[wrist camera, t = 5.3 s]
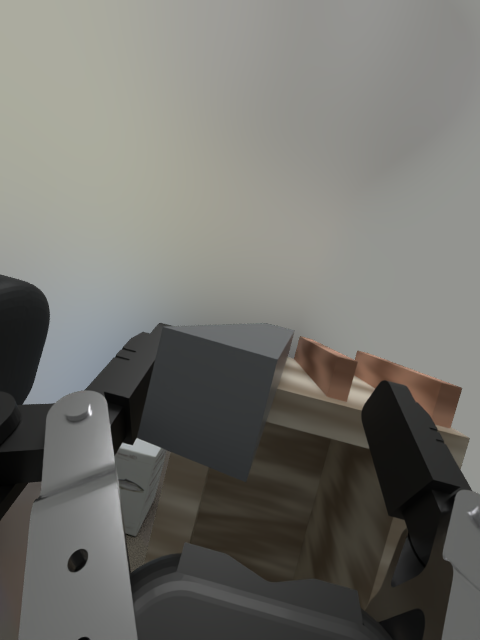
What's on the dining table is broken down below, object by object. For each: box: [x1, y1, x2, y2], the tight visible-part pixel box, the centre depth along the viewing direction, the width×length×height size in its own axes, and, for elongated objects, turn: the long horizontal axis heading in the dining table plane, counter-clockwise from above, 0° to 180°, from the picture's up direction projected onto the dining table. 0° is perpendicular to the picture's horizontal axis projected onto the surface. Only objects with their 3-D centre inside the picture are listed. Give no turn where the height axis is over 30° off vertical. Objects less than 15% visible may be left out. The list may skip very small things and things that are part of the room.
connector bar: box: [137, 323, 294, 482], centre depth 16 cm, size 21×3×3 cm, turn 166°
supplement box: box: [115, 438, 167, 536], centre depth 40 cm, size 7×7×13 cm
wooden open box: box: [144, 336, 470, 611], centre depth 22 cm, size 13×16×34 cm
